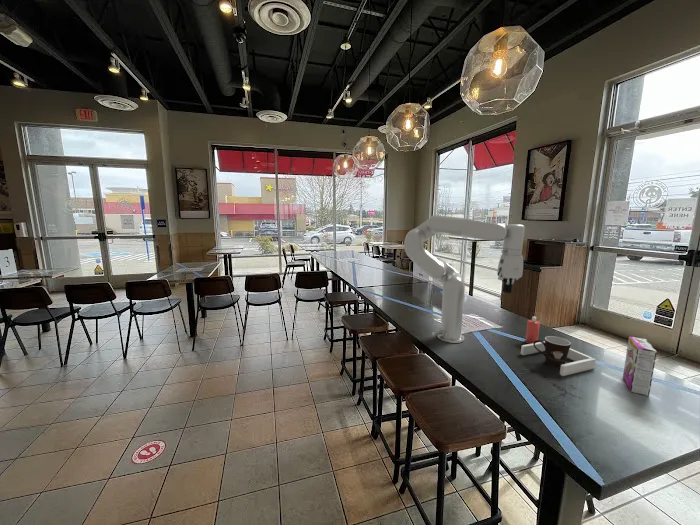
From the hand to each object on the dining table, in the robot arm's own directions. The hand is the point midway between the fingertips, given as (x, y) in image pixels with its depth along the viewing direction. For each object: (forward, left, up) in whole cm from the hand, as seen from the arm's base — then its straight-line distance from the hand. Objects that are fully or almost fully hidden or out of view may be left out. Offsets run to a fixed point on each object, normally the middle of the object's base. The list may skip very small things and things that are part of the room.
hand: (506, 292), depth 132 cm
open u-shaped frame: (+9, -19, -25) cm, 33 cm away
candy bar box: (+18, -41, -26) cm, 52 cm away
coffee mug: (+6, -19, -26) cm, 32 cm away
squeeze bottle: (+16, -2, -25) cm, 30 cm away
